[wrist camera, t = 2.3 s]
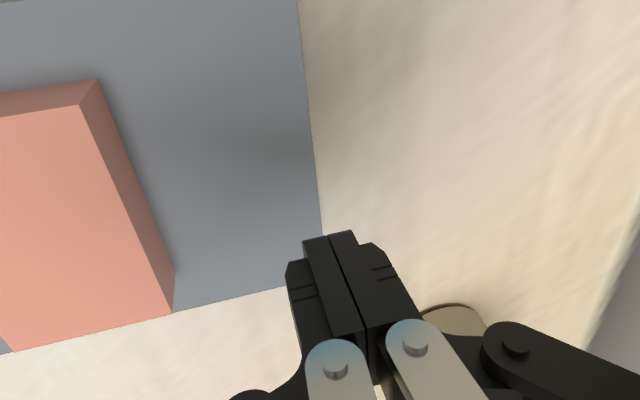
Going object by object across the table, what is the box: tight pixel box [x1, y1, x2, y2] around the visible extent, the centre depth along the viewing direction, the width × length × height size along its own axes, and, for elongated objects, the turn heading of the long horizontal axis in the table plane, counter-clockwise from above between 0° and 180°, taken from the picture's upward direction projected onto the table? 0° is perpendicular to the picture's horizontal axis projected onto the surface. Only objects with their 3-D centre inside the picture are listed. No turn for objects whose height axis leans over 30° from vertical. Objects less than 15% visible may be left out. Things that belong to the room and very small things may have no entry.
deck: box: [0, 0, 323, 355], centre depth 18 cm, size 14×16×4 cm
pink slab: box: [0, 78, 175, 352], centre depth 15 cm, size 9×6×2 cm, turn 5°
